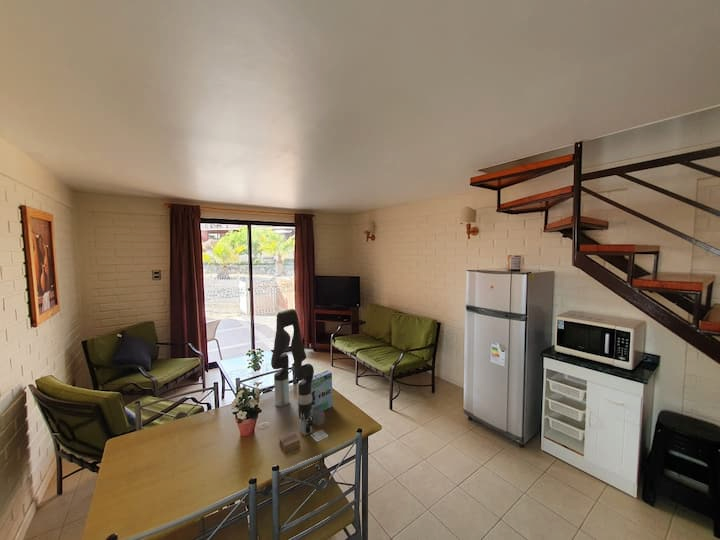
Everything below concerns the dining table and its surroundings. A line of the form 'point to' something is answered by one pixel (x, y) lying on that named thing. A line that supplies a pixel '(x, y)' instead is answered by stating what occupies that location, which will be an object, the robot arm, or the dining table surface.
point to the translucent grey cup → (318, 417)
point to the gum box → (321, 392)
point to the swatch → (319, 435)
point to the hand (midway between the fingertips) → (305, 429)
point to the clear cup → (304, 427)
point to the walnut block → (289, 442)
